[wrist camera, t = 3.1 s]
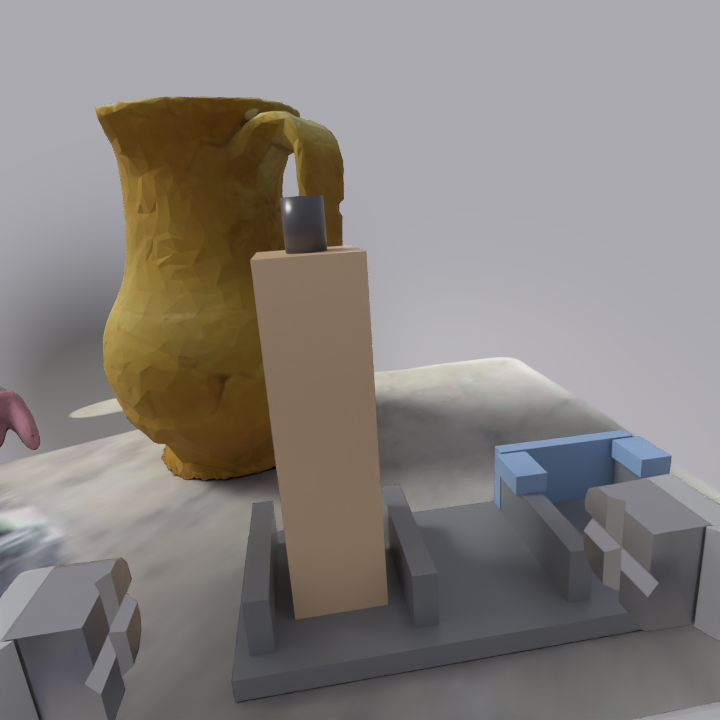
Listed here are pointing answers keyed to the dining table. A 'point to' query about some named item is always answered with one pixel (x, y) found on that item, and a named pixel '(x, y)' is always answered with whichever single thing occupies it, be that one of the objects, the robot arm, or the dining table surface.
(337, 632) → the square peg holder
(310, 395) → the plug
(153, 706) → the dining table surface
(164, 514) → the dining table surface
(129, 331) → the pitcher
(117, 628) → the robot arm
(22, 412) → the video game controller
